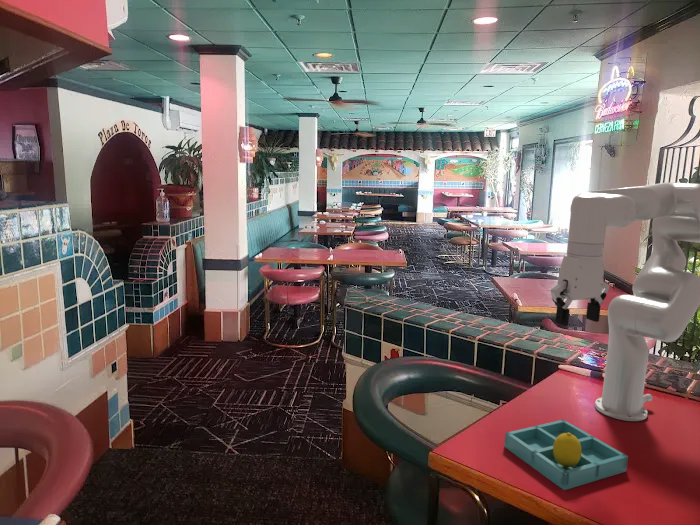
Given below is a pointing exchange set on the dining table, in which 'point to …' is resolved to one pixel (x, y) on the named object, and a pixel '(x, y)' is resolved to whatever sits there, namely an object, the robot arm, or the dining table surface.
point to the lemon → (567, 450)
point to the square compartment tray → (538, 453)
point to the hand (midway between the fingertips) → (577, 322)
